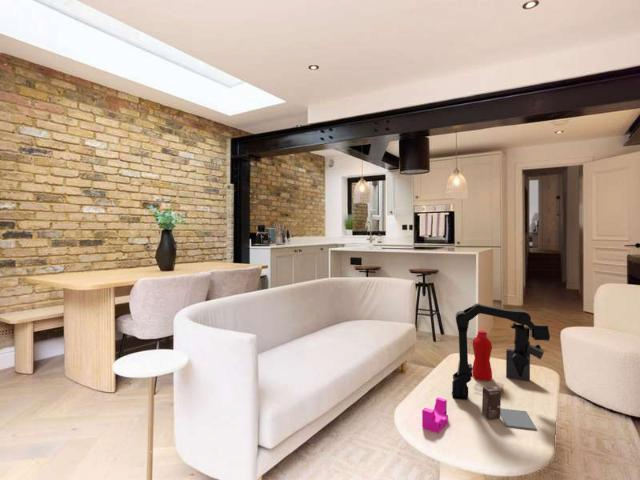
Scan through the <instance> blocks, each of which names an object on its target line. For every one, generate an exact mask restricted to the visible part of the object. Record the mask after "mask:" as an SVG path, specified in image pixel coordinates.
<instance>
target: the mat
mask: <svg viewBox="0 0 640 480" xmlns="http://www.w3.org/2000/svg"><path fill="white" fill-rule="evenodd" d="M500 418H502V421H503V423H504V426H505V427H506V428H515V429H522V430H531V431H537V430H538V428H537V427H536V425H535V424H534V421H533V420H532V419H531V417H530V414H529V413H528V412H527V410H520V409H519V410H518V409H509V408H500Z"/></svg>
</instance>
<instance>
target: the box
mask: <svg viewBox="0 0 640 480" xmlns="http://www.w3.org/2000/svg"><path fill="white" fill-rule="evenodd" d="M481 399H482V400H481V401H482V403H481V404H482V407H481V415H482V417H484V418H485V419H486V420H496V419H501V415H500V408H501V403H502V390H501V389H500V388H499V387H497V386H494V385H493V386H485V387H482V397H481Z"/></svg>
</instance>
